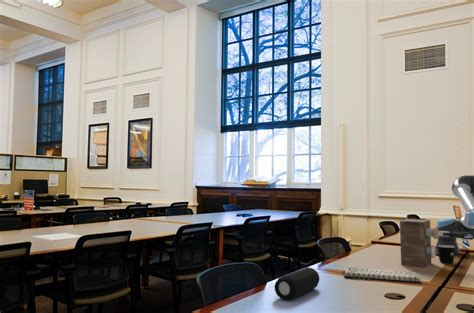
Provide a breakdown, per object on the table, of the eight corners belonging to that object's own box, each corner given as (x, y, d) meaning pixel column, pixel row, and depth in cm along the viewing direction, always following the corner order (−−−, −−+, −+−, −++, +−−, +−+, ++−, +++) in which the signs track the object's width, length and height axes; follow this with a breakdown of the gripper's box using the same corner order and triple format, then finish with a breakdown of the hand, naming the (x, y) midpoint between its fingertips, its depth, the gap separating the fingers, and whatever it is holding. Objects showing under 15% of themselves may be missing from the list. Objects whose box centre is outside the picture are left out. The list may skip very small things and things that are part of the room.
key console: (408, 260, 242) (407, 218, 244) (431, 263, 234) (430, 220, 236) (401, 265, 230) (399, 220, 231) (424, 268, 222) (423, 222, 223)
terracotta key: (416, 236, 236) (416, 224, 236) (438, 238, 228) (438, 226, 229) (413, 238, 230) (413, 225, 231) (435, 239, 223) (435, 227, 223)
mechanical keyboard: (416, 276, 206) (416, 269, 206) (422, 285, 188) (422, 278, 188) (343, 272, 217) (343, 265, 217) (342, 280, 198) (342, 274, 199)
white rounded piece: (414, 254, 236) (414, 242, 237) (436, 257, 229) (435, 244, 229) (411, 256, 231) (410, 244, 231) (433, 258, 223) (432, 246, 224)
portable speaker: (302, 286, 186) (302, 265, 186) (321, 289, 179) (321, 267, 180) (272, 299, 166) (272, 275, 166) (293, 303, 160) (292, 278, 160)
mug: (452, 265, 228) (451, 248, 229) (436, 263, 235) (435, 246, 235) (458, 262, 237) (458, 245, 237) (443, 260, 243) (442, 243, 244)
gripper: (483, 245, 206) (434, 241, 220) (486, 242, 216) (439, 238, 230) (483, 231, 206) (434, 227, 221) (486, 228, 216) (439, 225, 231)
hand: (437, 233), depth 226 cm, fingers closed
